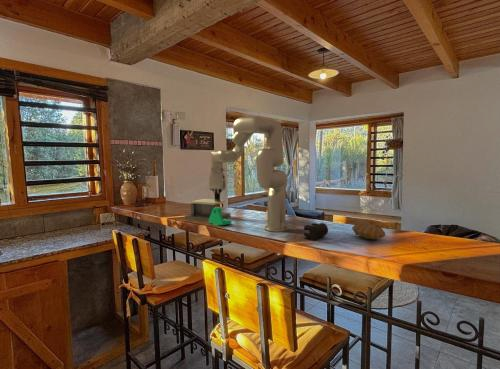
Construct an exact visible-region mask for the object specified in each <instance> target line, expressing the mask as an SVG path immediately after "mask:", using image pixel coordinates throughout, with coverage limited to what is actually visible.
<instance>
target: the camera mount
mask: <svg viewBox="0 0 500 369" xmlns="http://www.w3.org/2000/svg"><path fill="white" fill-rule="evenodd" d="M221 213H223V209H222V207H220V206H217V207H216V206H215V208H213V210H212V213H211V215H210V217H209V221H208V223H210V224H211V223H212V225H213V226H217V225H218V226H217V227H219V226H225V225H229V224H232V220H231V219H226V218H224V219H223V218H222V215H221Z"/></svg>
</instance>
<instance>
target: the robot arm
mask: <svg viewBox="0 0 500 369" xmlns="http://www.w3.org/2000/svg"><path fill="white" fill-rule="evenodd" d="M232 126H233V130H234V133H233V135H232V136H231V140H232V142H233V144H234V145H235V146H234V147H233V149H232V150H230V149H229V150H228V149H227V150H226V149H225V150H224V149H223V150H222V149H221V150H214V151H211V152H210V174H209V178H208V185H209V186H208V187H209V191H212V192H213V194H214V199H215V200H216V199H217V200H218V199H221V192H223V191H226V189H225V188H226V187H227V183H226V175H225V171H226V170H225V168H224V163H225V164H226V163H227V164H228V163H229V164H230V163H231V164H232V163H235V162H237V161H238V160H239V159H240V158H241V157H242V155H243V154H244V149H245V145H246V144H247V142H248V141H249V140H250V138H251V137H252V136H253V135H254V134H261V135H267V137H266V141H265V143H266V144H265V145H266V148H265V147H264V148H262V149H259V151H258V152H257V154H256V158H255V161H256V165H255V166H256V178H257V183H258V185H259V187H260V188H262V189H264V190H266V189H267V190H268V193H267V225H265V226H264V230H265V231H268V232H273V233H274V232H276V233H278V232H286V231H288V230H289V228H293V227H294V224H293V223H290V222H288V220H286V211H287V210H286V209H287V207H286V205H287V204H286V198H287V197H286V194H287V186H288V180H289V179H288V175H287V173H286V172H285V171H284V170H282V169H273V168H277V167H281V166H282V165H283V163H284V160H285V159H284V147H283V146H284V143H283V126H282V125H281V123H280V122H279V121H278V120H276V119H273V118H268V117H264V116H263V117H262V116H259V115H257V116H256V115H253V116H250V115H249V116H239V117H238V118H236V119H235V120H234V122H233V125H232Z"/></svg>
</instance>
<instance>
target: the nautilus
mask: <svg viewBox="0 0 500 369" xmlns="http://www.w3.org/2000/svg"><path fill="white" fill-rule="evenodd" d="M351 229H352V231H353V233H354V234H355V235H357V236H359V237H360V238H363V239H364V240H374V241H377V240H378V239H382V238H384V237H385V236H386V232H385V231H384V229H383V228H382V227H380V225H379V224H378V223H377V222H374V221H370V220H363V221H358V222H356V223H355V224H354V225H353V226H352V227H351Z"/></svg>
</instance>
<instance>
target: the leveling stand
mask: <svg viewBox="0 0 500 369" xmlns="http://www.w3.org/2000/svg"><path fill="white" fill-rule="evenodd" d="M213 208H216V204H215V205H210V204H197V203H191V202H190V214H188V215H187V214H186V215H184V220H192V221H200V220H201V222H209V217H210V215H211V213H212V210H213ZM221 215H222V218H223V219H226V218H230V217H231V213H230V212H222V213H221Z"/></svg>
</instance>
